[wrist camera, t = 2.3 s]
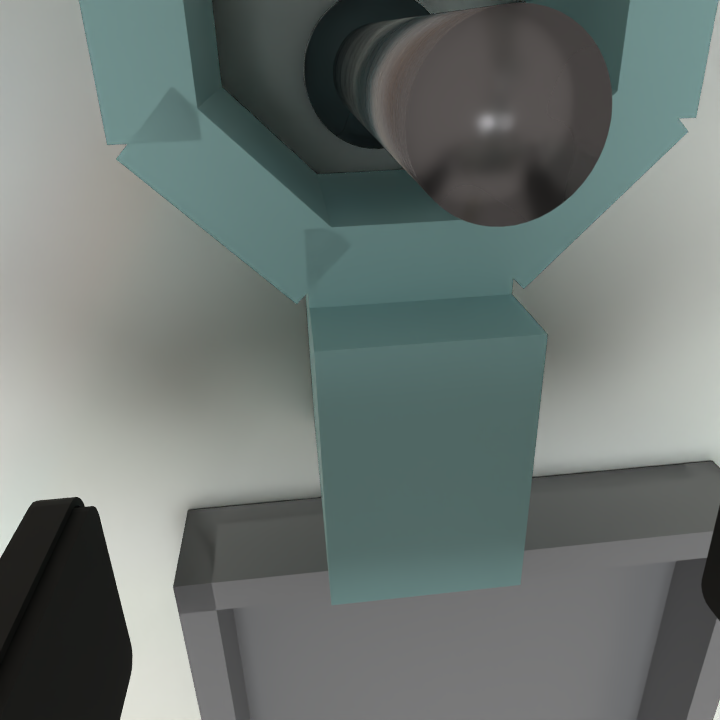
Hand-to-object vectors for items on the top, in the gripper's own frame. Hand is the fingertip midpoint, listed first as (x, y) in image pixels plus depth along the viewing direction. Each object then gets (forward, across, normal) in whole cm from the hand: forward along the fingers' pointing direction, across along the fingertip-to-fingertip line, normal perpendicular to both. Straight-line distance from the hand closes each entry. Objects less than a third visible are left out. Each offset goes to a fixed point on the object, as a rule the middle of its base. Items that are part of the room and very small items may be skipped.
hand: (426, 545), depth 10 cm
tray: (+6, -2, +12) cm, 14 cm away
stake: (+6, 0, -6) cm, 9 cm away
